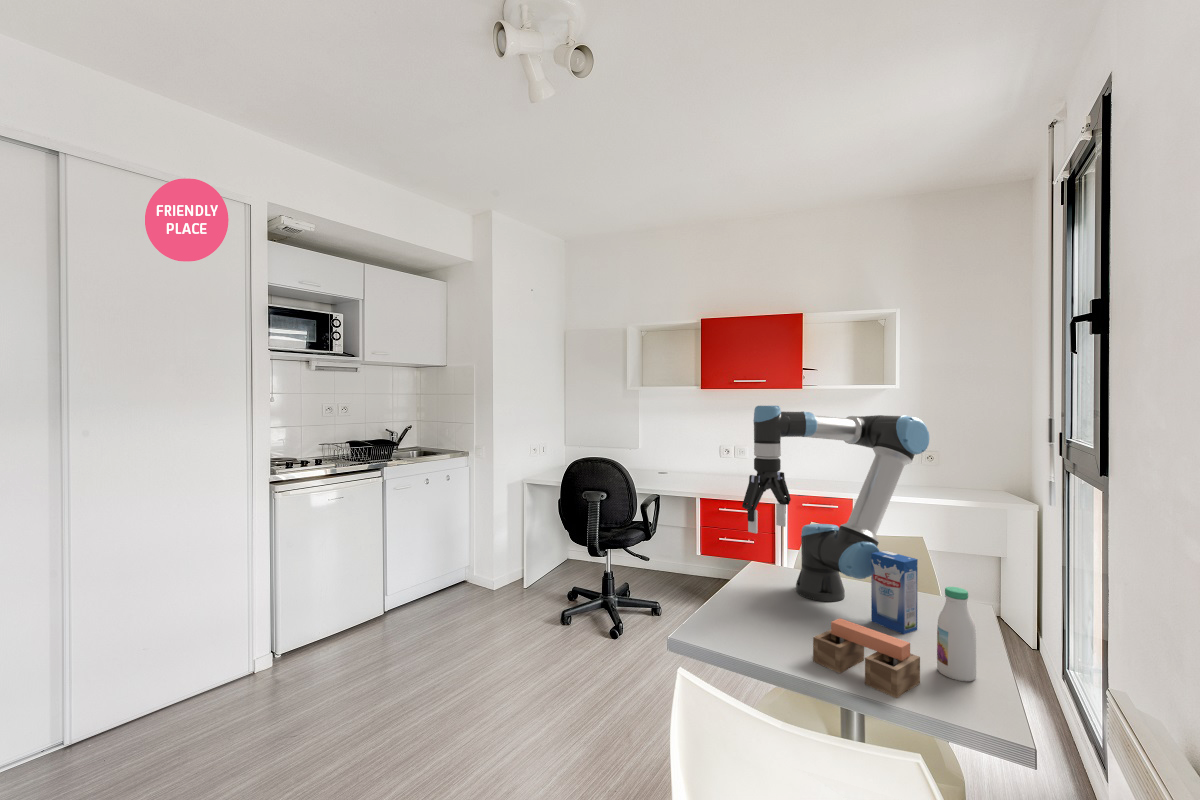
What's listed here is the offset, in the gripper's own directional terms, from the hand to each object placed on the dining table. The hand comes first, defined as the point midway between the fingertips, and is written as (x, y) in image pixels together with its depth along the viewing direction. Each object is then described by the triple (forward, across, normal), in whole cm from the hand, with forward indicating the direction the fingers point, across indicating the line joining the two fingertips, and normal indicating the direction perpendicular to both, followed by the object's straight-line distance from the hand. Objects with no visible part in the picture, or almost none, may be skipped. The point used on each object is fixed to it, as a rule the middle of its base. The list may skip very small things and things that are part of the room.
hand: (767, 529), depth 157 cm
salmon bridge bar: (+25, +6, +33) cm, 41 cm away
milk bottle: (+27, -9, +46) cm, 54 cm away
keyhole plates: (+26, +8, +33) cm, 43 cm away
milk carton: (+27, -25, +25) cm, 44 cm away
